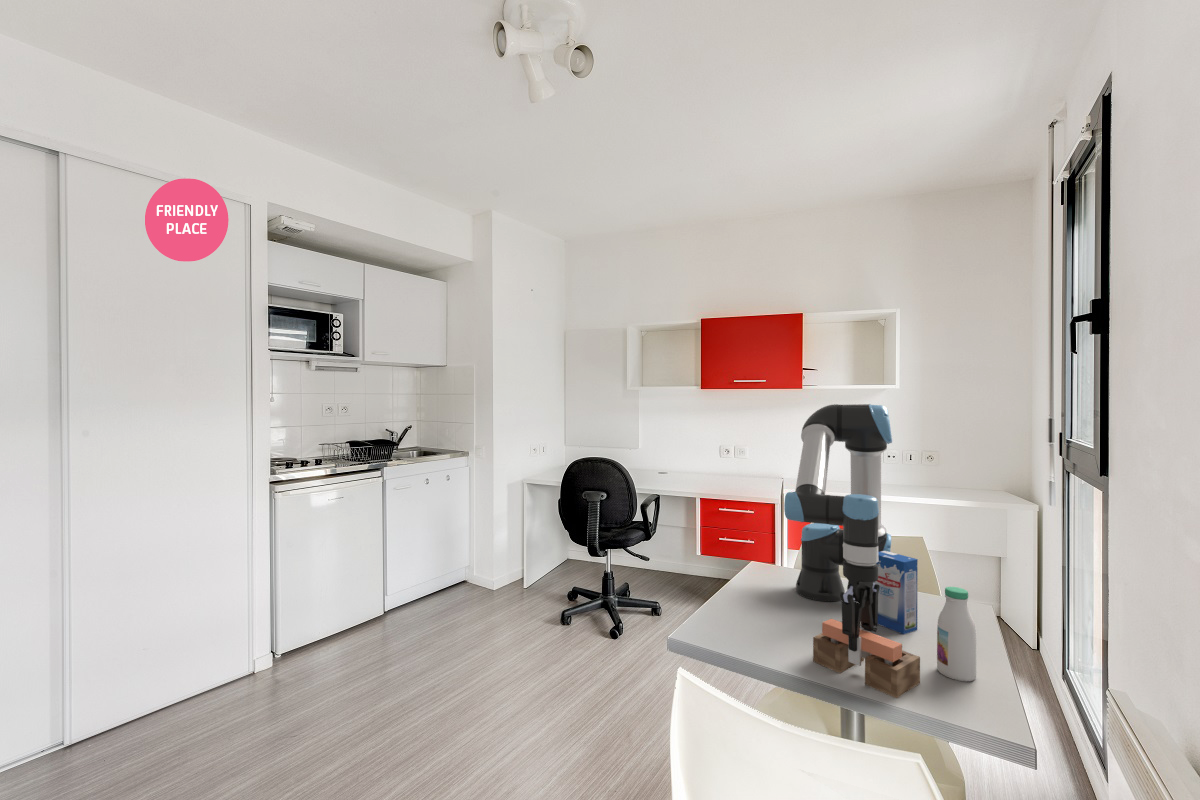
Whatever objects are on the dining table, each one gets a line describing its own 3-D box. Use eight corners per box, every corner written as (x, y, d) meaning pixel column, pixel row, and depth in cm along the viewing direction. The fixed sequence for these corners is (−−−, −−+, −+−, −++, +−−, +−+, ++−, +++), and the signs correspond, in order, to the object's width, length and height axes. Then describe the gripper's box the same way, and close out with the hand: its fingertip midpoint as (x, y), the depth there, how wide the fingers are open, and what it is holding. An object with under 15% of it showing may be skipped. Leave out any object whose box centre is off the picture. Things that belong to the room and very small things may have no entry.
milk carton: (871, 621, 156) (871, 553, 156) (884, 617, 159) (884, 550, 159) (904, 634, 147) (904, 562, 147) (917, 630, 150) (917, 559, 150)
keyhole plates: (837, 649, 138) (837, 626, 138) (919, 683, 121) (920, 656, 121) (813, 661, 131) (813, 637, 131) (896, 698, 115) (896, 670, 115)
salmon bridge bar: (822, 651, 131) (822, 622, 131) (831, 647, 133) (831, 618, 133) (893, 681, 117) (893, 648, 117) (901, 675, 120) (901, 643, 120)
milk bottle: (978, 673, 126) (978, 588, 126) (973, 686, 120) (973, 597, 120) (940, 662, 131) (940, 581, 131) (934, 674, 125) (934, 589, 125)
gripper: (863, 551, 133) (863, 645, 133) (825, 563, 124) (824, 664, 123) (894, 559, 127) (894, 656, 127) (856, 572, 117) (856, 678, 117)
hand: (860, 660), depth 125 cm, fingers closed on salmon bridge bar, 4 cm apart
